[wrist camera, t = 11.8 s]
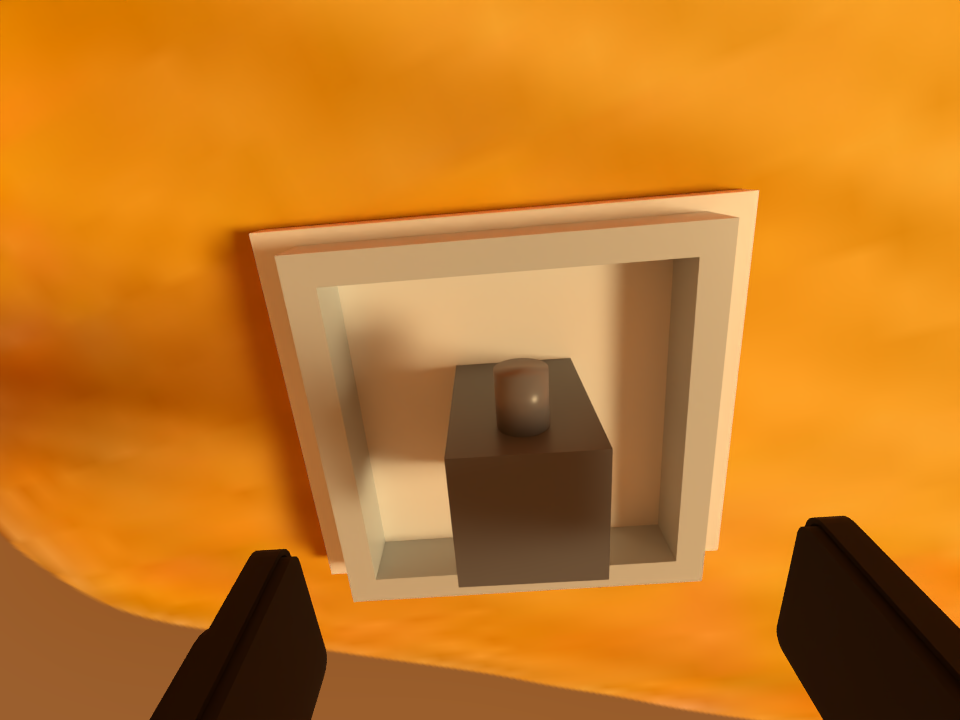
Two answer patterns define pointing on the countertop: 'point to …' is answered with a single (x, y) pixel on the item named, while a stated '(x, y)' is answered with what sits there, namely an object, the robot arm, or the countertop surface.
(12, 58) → the countertop surface
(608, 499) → the connector plug
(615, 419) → the tray
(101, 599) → the countertop surface
